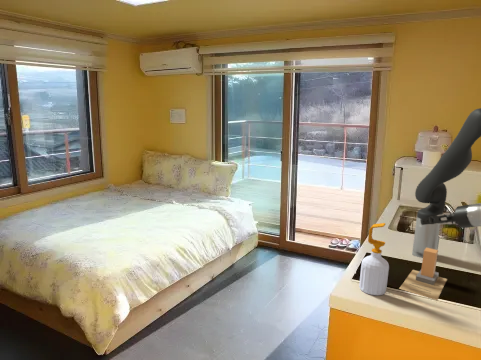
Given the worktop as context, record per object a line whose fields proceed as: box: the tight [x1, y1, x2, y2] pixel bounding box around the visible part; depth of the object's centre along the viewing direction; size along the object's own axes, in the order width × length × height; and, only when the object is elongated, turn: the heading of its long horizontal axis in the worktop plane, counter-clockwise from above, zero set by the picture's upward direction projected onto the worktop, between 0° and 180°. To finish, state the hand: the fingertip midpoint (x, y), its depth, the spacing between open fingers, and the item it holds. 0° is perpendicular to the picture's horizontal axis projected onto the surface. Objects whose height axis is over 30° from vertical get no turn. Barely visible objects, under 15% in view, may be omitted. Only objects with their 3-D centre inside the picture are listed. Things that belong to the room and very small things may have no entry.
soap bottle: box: [358, 222, 390, 296], centre depth 128 cm, size 9×9×25 cm
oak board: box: [398, 269, 448, 301], centre depth 133 cm, size 20×12×2 cm, turn 142°
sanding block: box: [416, 248, 439, 285], centre depth 136 cm, size 9×6×11 cm, turn 143°
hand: (427, 221), depth 135 cm, fingers open, 8 cm apart
